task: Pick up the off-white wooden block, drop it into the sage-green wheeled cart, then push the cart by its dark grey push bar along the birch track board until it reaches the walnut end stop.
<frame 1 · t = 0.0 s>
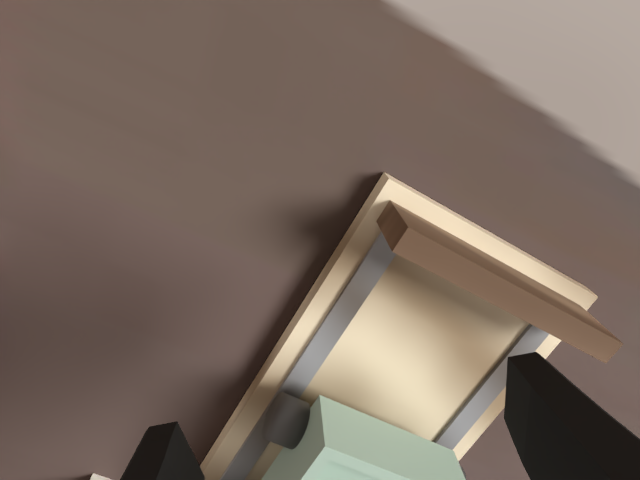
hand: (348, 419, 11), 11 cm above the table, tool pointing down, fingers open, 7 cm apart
track board: (346, 430, 24), on the table
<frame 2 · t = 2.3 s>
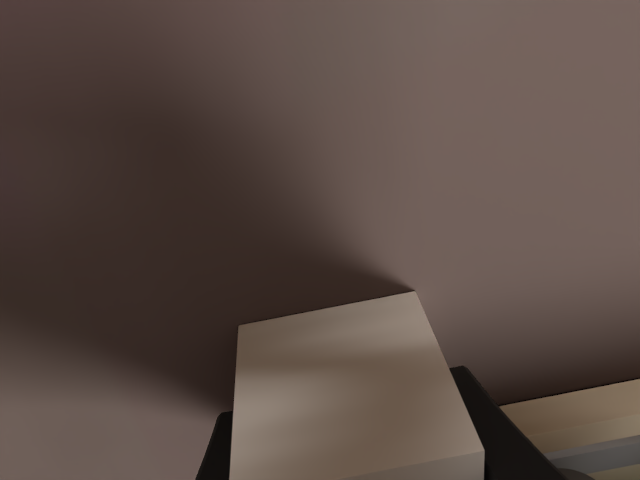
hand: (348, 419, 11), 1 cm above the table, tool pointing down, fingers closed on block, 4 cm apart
block: (339, 370, 12), on the table, touching gripper
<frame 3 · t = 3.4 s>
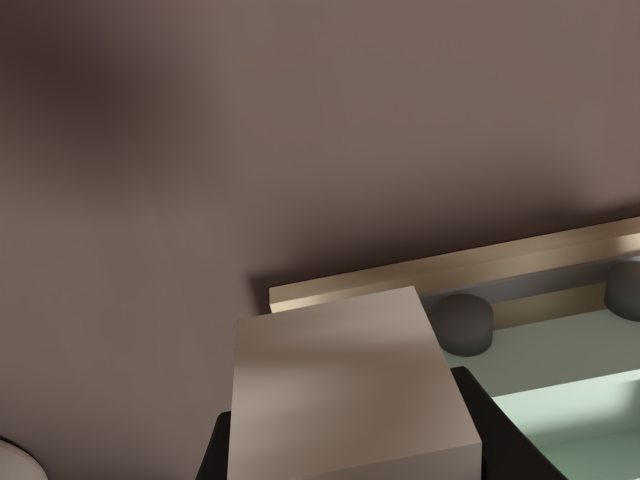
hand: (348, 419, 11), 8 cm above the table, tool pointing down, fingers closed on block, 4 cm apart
track board: (558, 332, 22), on the table
block: (338, 365, 12), point 7 cm above the table, touching gripper
cart: (537, 405, 19), point 3 cm above the table, slide at 0.0 cm
when the fingers open (6 cm above the table, at t = 4.9 s): block drops 1 cm, resting on cart.
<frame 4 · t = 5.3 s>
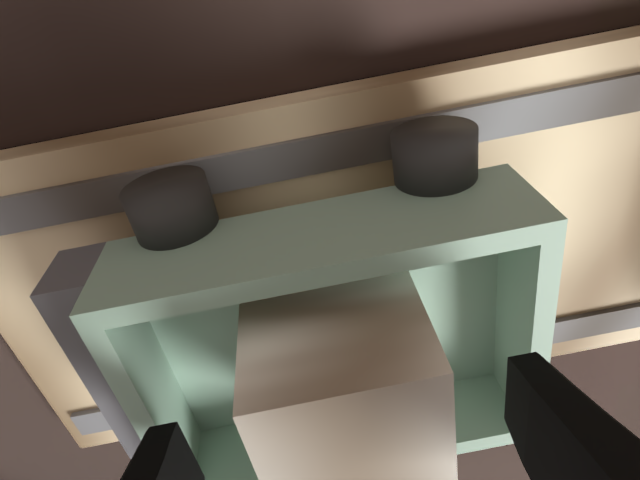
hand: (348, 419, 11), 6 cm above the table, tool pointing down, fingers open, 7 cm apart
track board: (380, 249, 16), on the table
block: (332, 326, 13), point 3 cm above the table, touching cart
cart: (310, 336, 13), point 3 cm above the table, slide at 0.0 cm, touching block
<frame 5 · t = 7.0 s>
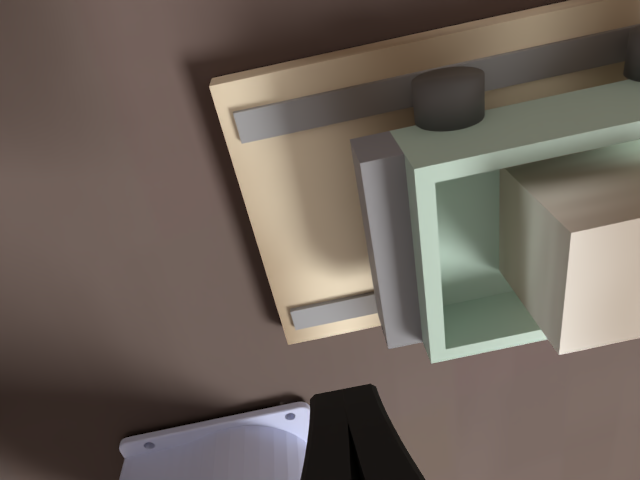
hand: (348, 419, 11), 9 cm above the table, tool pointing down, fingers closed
track board: (567, 156, 18), on the table
block: (561, 206, 16), point 3 cm above the table, touching cart
cart: (542, 215, 16), point 3 cm above the table, slide at 0.0 cm, touching block
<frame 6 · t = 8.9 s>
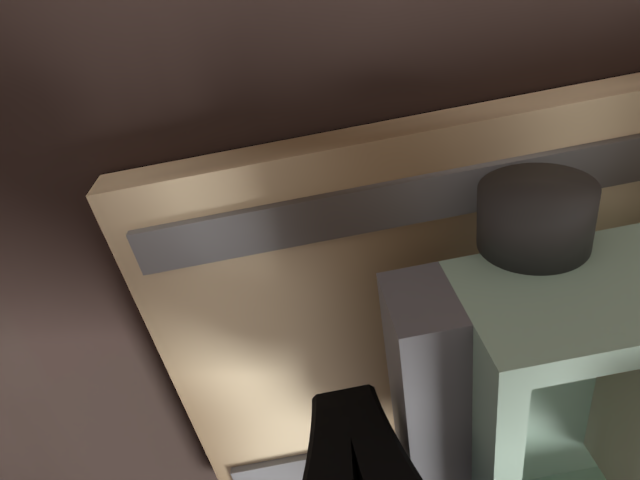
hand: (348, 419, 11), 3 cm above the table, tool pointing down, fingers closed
track board: (617, 275, 13), on the table
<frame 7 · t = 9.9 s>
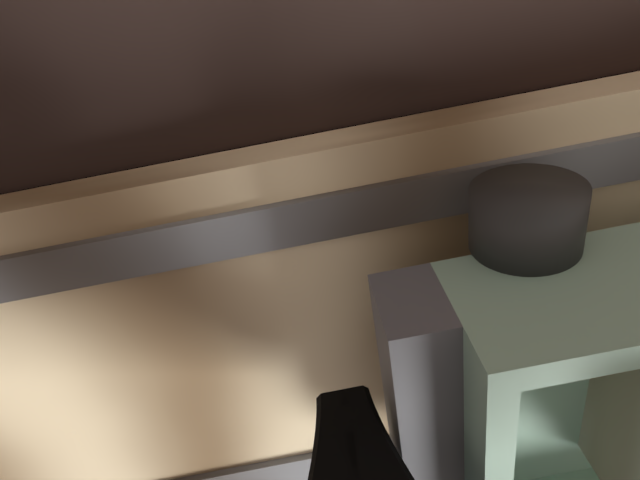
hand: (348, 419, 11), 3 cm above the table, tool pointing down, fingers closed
track board: (406, 315, 13), on the table
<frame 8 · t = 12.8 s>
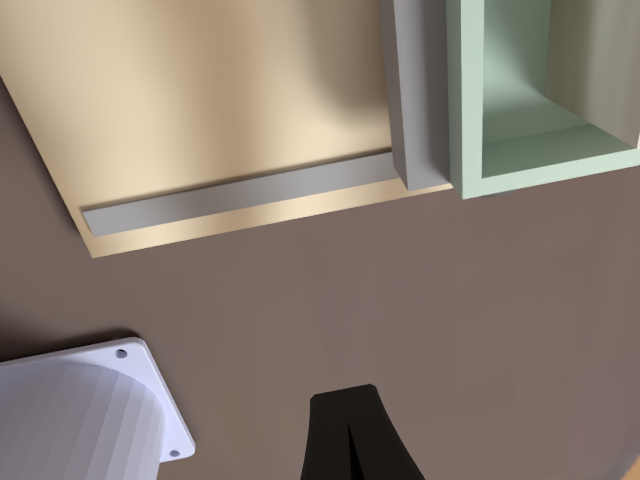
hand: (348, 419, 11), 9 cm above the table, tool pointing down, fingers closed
track board: (403, 26, 16), on the table
block: (626, 5, 13), point 3 cm above the table, touching cart
cart: (603, 14, 13), point 3 cm above the table, slide at 7.0 cm, touching block
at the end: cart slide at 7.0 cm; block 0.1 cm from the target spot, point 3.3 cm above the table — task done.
